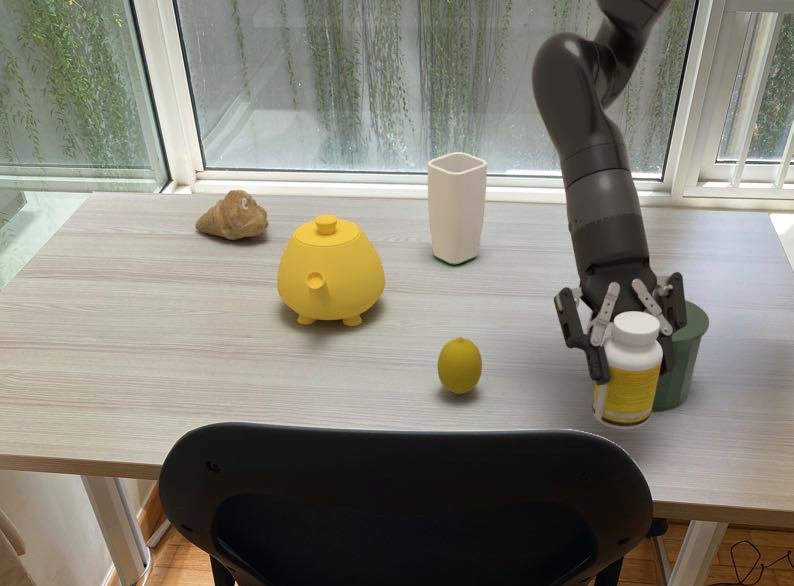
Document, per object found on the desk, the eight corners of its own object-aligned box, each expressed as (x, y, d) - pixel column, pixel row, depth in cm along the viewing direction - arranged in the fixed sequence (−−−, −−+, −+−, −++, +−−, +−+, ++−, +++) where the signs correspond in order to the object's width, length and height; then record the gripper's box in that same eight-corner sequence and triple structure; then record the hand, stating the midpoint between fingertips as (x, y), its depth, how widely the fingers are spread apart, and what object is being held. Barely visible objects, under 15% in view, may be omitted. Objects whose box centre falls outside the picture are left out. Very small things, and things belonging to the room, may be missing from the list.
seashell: (210, 256, 153) (187, 252, 146) (197, 209, 152) (174, 203, 144) (280, 233, 149) (260, 228, 141) (267, 185, 148) (247, 176, 140)
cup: (453, 271, 137) (455, 175, 126) (423, 256, 141) (422, 162, 131) (487, 257, 140) (491, 162, 130) (456, 243, 144) (458, 150, 134)
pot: (693, 374, 113) (709, 307, 107) (681, 418, 106) (697, 349, 100) (612, 360, 116) (623, 294, 110) (596, 402, 109) (606, 334, 103)
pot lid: (712, 310, 107) (721, 275, 104) (700, 356, 100) (709, 320, 97) (619, 296, 111) (625, 262, 108) (600, 340, 103) (606, 304, 100)
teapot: (374, 354, 119) (370, 258, 110) (263, 350, 121) (249, 256, 112) (392, 285, 134) (389, 196, 124) (292, 283, 135) (282, 194, 126)
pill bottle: (657, 429, 96) (678, 335, 88) (599, 434, 95) (615, 340, 87) (639, 396, 100) (657, 304, 93) (583, 401, 100) (597, 309, 92)
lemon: (461, 377, 114) (463, 322, 109) (489, 395, 111) (492, 339, 106) (428, 391, 112) (428, 336, 107) (456, 411, 109) (457, 354, 103)
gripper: (553, 219, 88) (584, 381, 88) (685, 202, 90) (715, 360, 90) (531, 247, 96) (559, 396, 95) (653, 231, 98) (680, 377, 98)
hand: (634, 378), depth 93 cm, fingers closed on pill bottle, 6 cm apart
